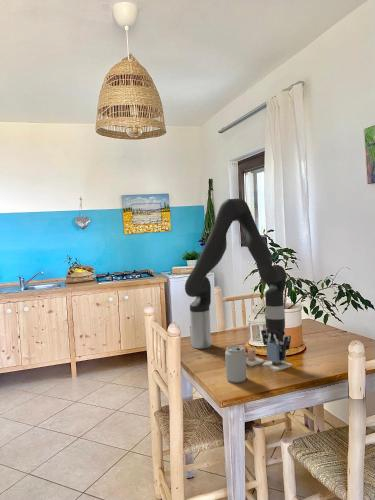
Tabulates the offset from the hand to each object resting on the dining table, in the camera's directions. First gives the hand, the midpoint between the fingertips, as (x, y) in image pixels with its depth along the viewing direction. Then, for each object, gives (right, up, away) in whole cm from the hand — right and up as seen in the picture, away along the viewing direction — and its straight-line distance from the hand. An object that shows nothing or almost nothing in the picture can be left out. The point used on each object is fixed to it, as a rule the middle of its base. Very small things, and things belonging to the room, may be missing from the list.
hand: (276, 358), depth 156 cm
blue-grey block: (0, -1, 0) cm, 1 cm away
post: (0, -3, 0) cm, 3 cm away
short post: (-9, -3, +6) cm, 11 cm away
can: (-17, -5, -11) cm, 21 cm away
